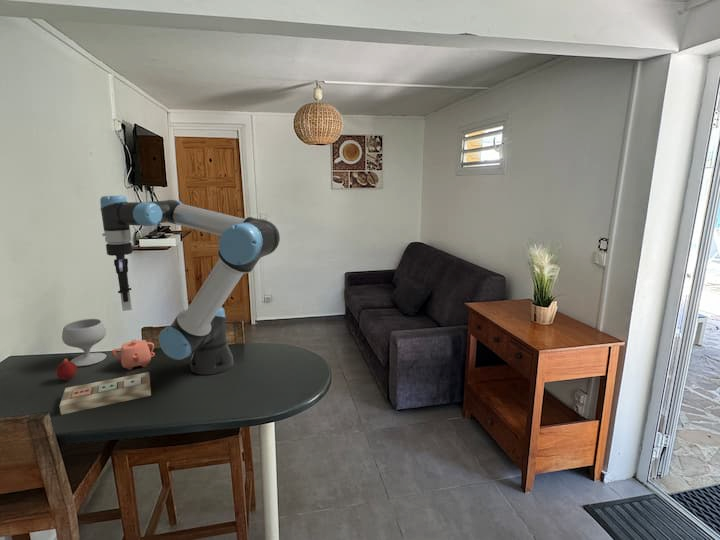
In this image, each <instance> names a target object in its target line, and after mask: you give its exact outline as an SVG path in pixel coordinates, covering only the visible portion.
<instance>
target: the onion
mask: <svg viewBox="0 0 720 540" xmlns="http://www.w3.org/2000/svg"><path fill="white" fill-rule="evenodd" d="M68 359H69V358H67V357H66V358H64V359H63V361H61V363H59V364H58V366H57V367H56V375H57V377H58V378H59V379H60V380H64V381H70V380H71V379H72V378H73V377H75V375H76V374H77V373H78V366H76V365H75V364H74V363H73V362H71V360H68Z"/></svg>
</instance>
